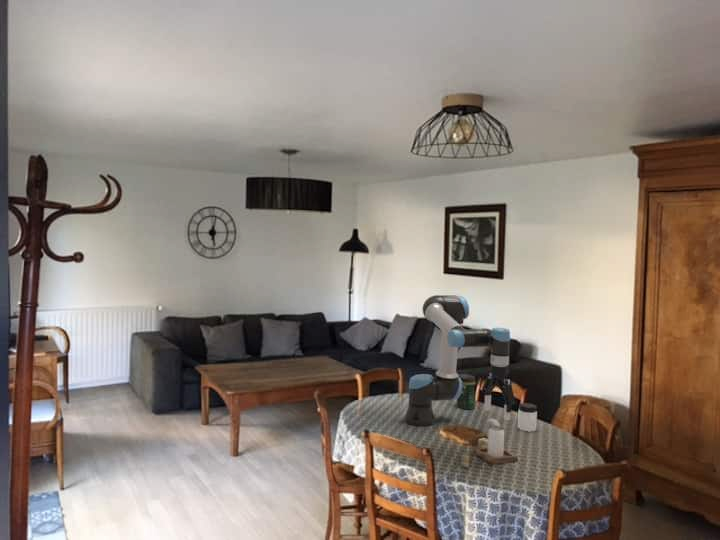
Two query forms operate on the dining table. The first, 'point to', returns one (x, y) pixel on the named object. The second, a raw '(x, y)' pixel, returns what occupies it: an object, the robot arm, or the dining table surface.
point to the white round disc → (490, 423)
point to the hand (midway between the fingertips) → (496, 414)
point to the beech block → (482, 443)
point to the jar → (527, 417)
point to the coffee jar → (467, 392)
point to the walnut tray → (505, 459)
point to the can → (495, 442)
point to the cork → (465, 460)
